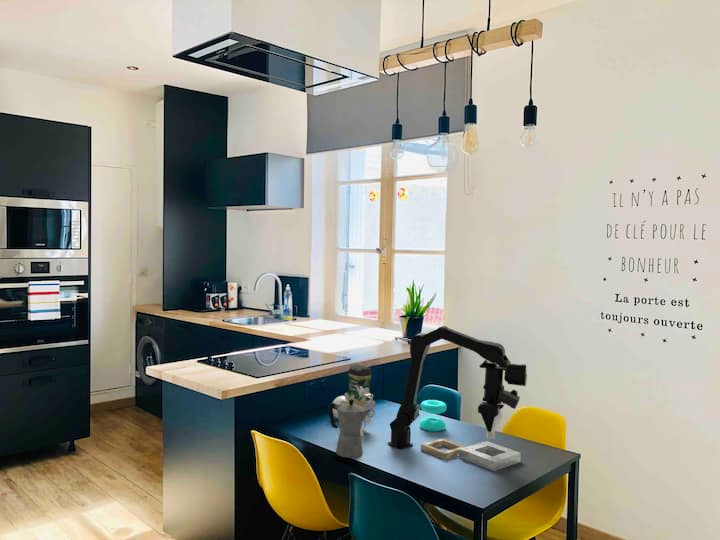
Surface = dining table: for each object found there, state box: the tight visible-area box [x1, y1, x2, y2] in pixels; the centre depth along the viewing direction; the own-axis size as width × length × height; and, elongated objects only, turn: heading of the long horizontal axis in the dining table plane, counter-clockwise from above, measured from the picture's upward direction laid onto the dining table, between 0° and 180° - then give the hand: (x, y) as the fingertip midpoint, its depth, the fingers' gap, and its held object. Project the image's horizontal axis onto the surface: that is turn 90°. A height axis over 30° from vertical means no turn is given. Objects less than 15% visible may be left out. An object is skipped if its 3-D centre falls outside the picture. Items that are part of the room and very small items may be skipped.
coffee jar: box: [347, 364, 372, 405], centre depth 248 cm, size 10×8×19 cm
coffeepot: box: [327, 399, 370, 459], centre depth 196 cm, size 15×9×18 cm, turn 62°
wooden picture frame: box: [420, 438, 466, 461], centre depth 201 cm, size 11×11×2 cm
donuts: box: [419, 399, 447, 432], centre depth 226 cm, size 10×10×10 cm
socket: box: [459, 440, 522, 472], centre depth 194 cm, size 14×14×3 cm
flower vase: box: [332, 385, 376, 437], centre depth 225 cm, size 13×18×25 cm
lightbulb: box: [481, 409, 503, 441], centre depth 194 cm, size 6×6×11 cm
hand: (490, 429), depth 194 cm, fingers closed on lightbulb, 6 cm apart
